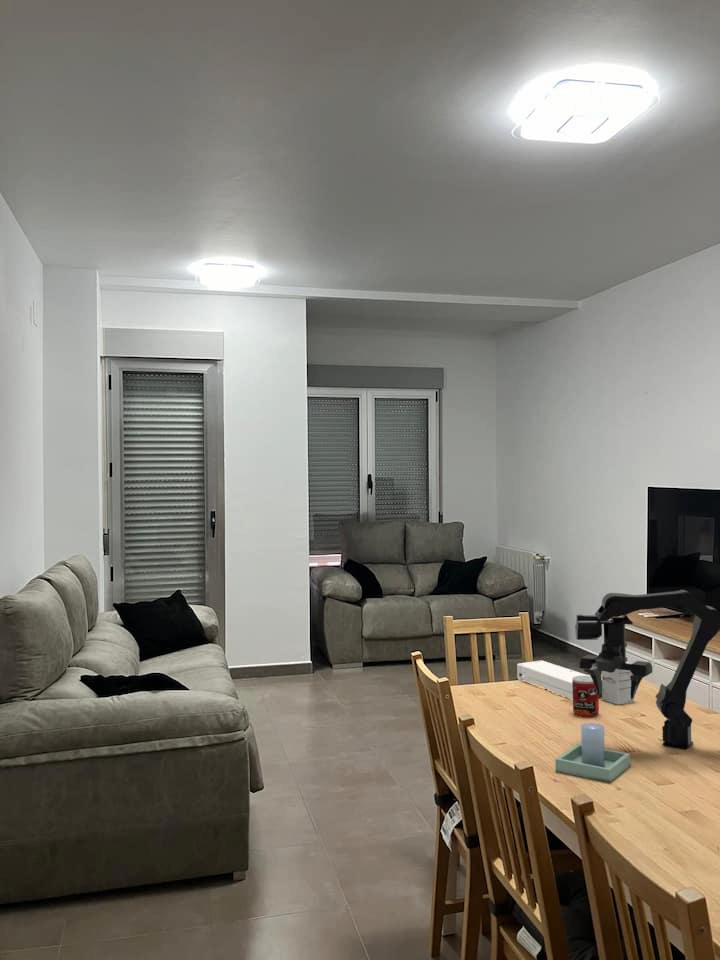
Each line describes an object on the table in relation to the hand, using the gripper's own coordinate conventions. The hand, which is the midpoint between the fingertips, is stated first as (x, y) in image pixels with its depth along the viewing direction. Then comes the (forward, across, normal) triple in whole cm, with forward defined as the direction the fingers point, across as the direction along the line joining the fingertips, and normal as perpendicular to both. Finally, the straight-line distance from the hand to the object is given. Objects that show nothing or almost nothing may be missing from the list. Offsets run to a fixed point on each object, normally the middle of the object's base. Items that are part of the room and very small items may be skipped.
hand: (615, 696), depth 230 cm
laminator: (+14, -38, +45) cm, 61 cm away
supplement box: (+13, -15, +41) cm, 46 cm away
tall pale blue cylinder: (+12, +2, -21) cm, 25 cm away
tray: (+13, +2, -22) cm, 25 cm away
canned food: (+13, -18, +22) cm, 31 cm away
